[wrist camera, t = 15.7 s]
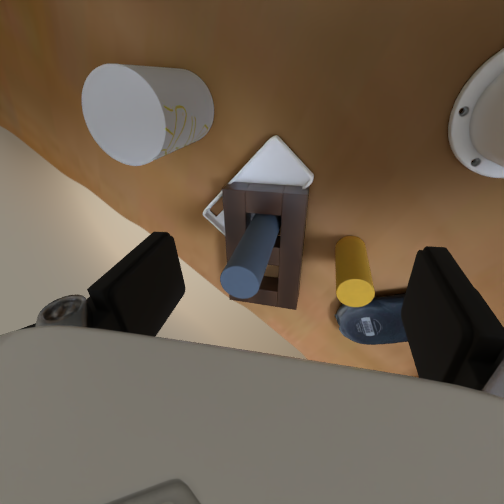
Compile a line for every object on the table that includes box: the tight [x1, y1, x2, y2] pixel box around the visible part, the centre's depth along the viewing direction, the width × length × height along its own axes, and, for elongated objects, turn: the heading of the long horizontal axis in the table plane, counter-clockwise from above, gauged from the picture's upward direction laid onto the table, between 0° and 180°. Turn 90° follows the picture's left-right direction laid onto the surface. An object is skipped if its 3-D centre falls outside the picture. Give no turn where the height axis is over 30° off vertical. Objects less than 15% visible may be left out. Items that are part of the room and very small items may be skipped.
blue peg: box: [220, 213, 281, 299], centre depth 34 cm, size 4×4×15 cm
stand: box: [222, 181, 310, 310], centre depth 40 cm, size 11×18×4 cm, turn 1°
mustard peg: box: [335, 236, 375, 307], centre depth 35 cm, size 4×4×10 cm
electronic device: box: [334, 294, 408, 345], centre depth 42 cm, size 9×6×15 cm
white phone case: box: [203, 135, 314, 235], centre depth 37 cm, size 7×1×15 cm
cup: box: [82, 64, 214, 166], centre depth 30 cm, size 8×8×12 cm
